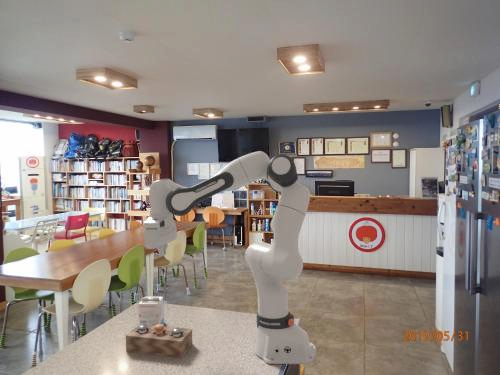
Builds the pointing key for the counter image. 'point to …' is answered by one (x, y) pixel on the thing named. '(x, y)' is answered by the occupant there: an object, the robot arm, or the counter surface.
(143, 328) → the grey plug far
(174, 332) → the grey plug near
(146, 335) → the block
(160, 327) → the terracotta plug
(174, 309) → the counter surface
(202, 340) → the counter surface
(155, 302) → the ink box
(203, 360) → the counter surface
